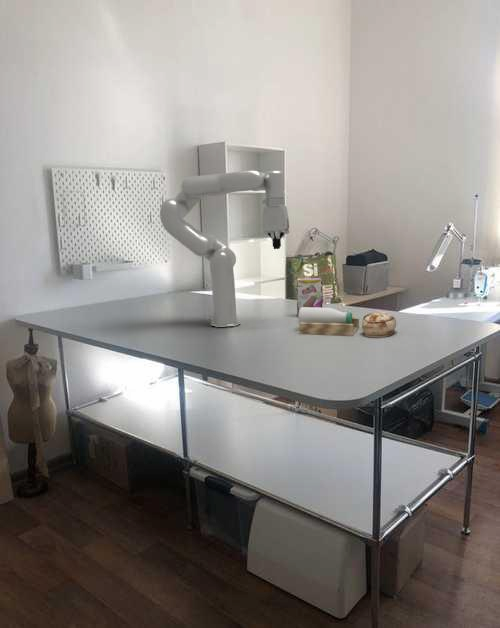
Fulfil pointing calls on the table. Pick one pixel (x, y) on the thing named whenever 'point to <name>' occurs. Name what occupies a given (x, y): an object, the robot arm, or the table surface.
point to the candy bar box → (309, 293)
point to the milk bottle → (323, 315)
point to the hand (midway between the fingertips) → (276, 248)
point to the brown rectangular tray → (330, 328)
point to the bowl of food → (378, 324)
